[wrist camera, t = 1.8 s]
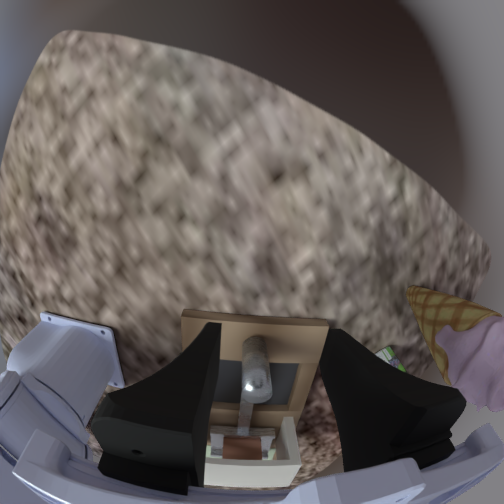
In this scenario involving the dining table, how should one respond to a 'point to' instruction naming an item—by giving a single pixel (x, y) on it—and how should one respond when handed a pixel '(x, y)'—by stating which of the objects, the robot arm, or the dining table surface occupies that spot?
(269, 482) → the tunnel
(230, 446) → the terracotta block
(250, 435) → the sled
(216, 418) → the frame
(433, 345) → the ice cream cone
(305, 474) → the dining table surface
